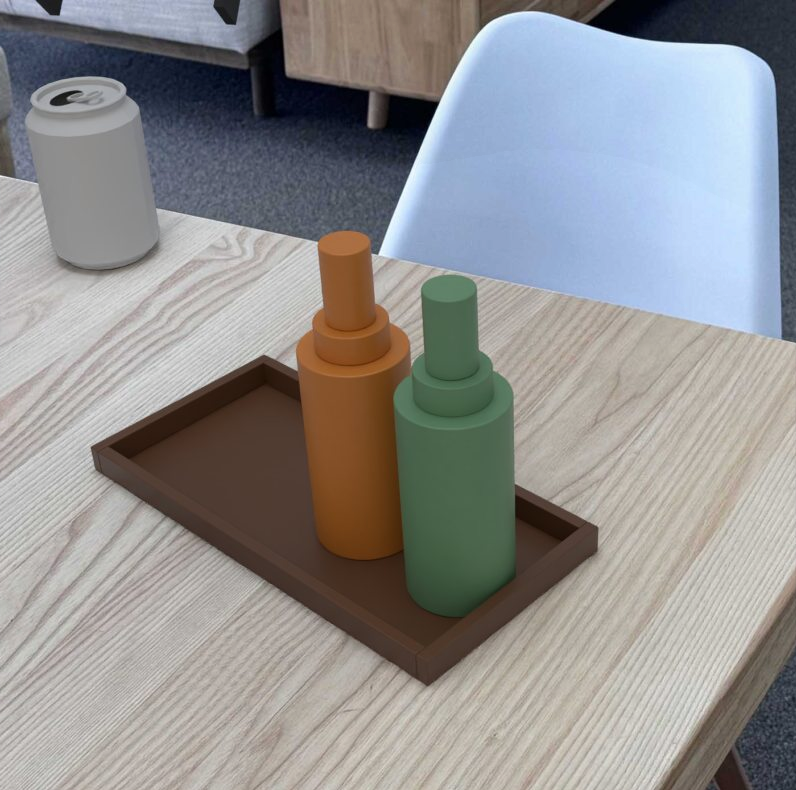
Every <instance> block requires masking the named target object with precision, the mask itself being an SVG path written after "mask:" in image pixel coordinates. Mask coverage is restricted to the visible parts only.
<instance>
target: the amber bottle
mask: <svg viewBox="0 0 796 790" xmlns="http://www.w3.org/2000/svg"><path fill="white" fill-rule="evenodd" d="M316 247H317V256H318V265H319V275H320V286H321V295H322V296H321V297H322V306H323V307H322V308H320V309H319V310H318V311H316V312H315V314H314V316H313V317H312V320H311V326H312V329H310V330H308V331H307V332H306V333H305V334H303V336H302V337H301V338H300V340H299V341H298V343H297V344H296V348H295V357H296V358H295V359H296V367H297V371H298V376H299V385H300V394H301V402H302V411H303V420H304V429H305V437H306V446H307V455H308V463H309V472H310V481H311V490H312V498H313V507H314V516H315V524H316V533H317V537H318V539H319V541H320V542H321V544H322V545H323V546H324V547H325V548H326V549H327V550H329V551H330V552H332V553H334V554H336V555H338V556H341V557H344V558H348V559H354V560H373V559H380V558H384V557H388V556H391V555H393V554H396V553H398V552H400V551H402V550H403V549H404V545H403V531H402V517H401V502H400V488H399V474H398V460H397V446H396V432H395V418H394V404H393V397H394V393H395V390H396V388H397V387H398V385H399V384H400V383H401V382H402V381H403V380H404V379H405V378H406V377H408V376H409V375H411V374H412V354H411V353H412V352H411V341H410V339H409V337H408V335H407V334H406V332H405V331H404V330H403V329H402V328H400V327H399V326H397V324H394V323H391V322H390V314H389V312H388V310H387V309H386V308H384V307H383V306H382V305H380V304H379V303H376V295H375V283H374V282H375V281H374V269H373V256H372V255H373V254H372V243H371V239H370V237H369V236H368V235H366V234H365V233H362V232H359V231H354V230H340V231H339V230H338V231H334V232H330V233H328V234H325V235H324V236H322V237H321V238H320V239H319V240H318V242H317V246H316Z"/></svg>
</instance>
